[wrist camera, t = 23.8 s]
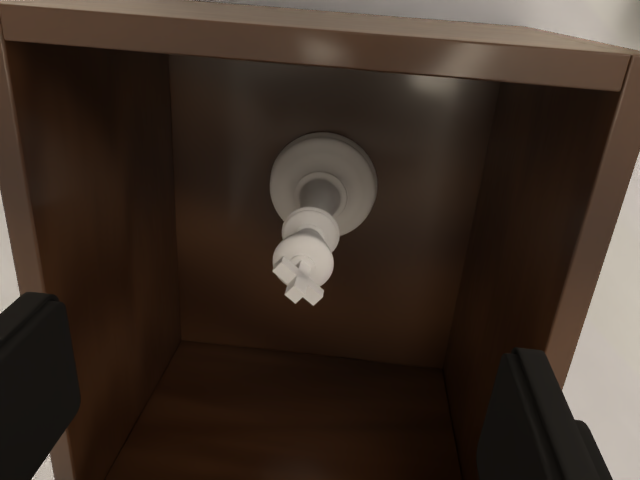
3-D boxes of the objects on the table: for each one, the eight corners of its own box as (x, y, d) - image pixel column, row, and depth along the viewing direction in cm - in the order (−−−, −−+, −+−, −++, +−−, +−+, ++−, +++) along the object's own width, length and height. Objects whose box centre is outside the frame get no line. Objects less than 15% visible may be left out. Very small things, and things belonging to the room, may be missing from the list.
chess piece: (326, 253, 26) (301, 390, 17) (248, 185, 25) (178, 293, 16) (399, 184, 25) (415, 296, 15) (320, 108, 23) (286, 180, 14)
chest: (154, -3, 23) (-37, 0, 12) (527, 26, 22) (671, 57, 11) (172, 341, 30) (63, 530, 20) (453, 372, 30) (498, 588, 19)
